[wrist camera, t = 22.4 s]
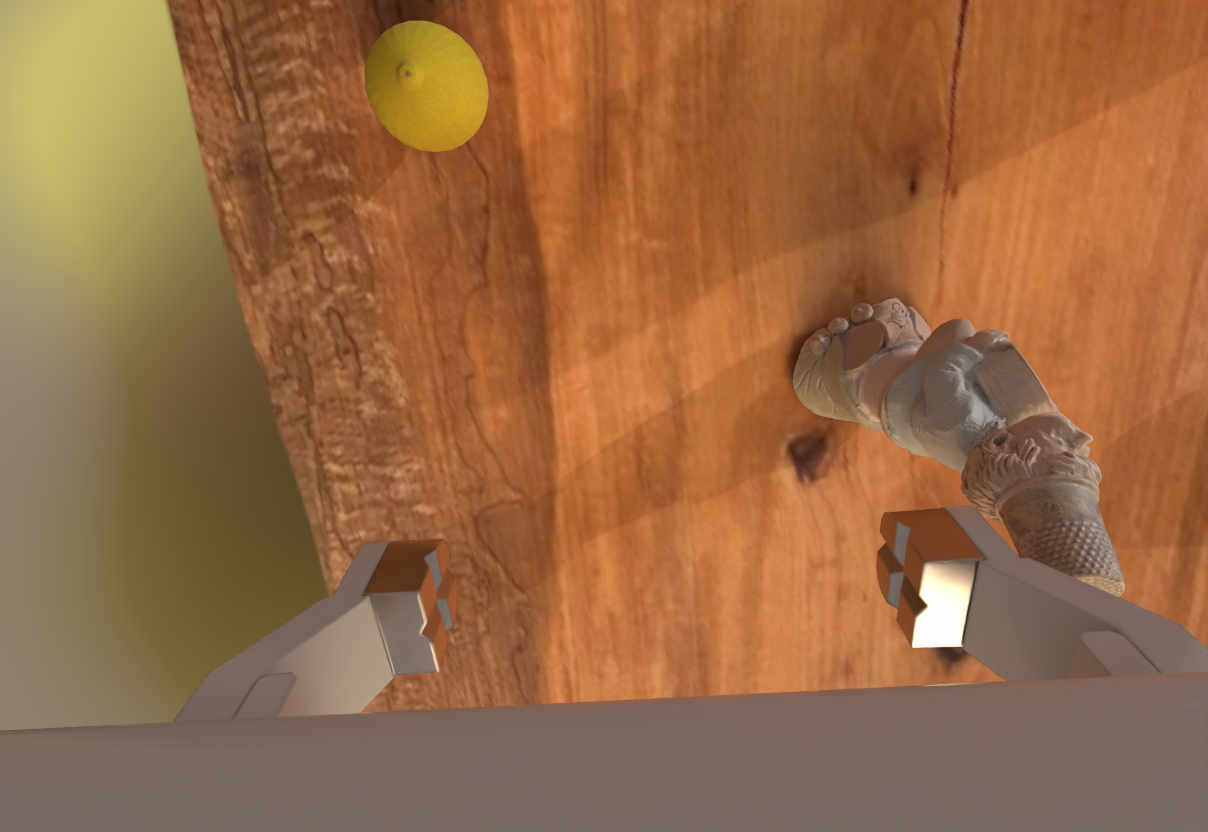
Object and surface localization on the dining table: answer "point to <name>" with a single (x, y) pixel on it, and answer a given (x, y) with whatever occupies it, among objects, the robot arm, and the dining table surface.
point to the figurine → (968, 426)
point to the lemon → (426, 86)
